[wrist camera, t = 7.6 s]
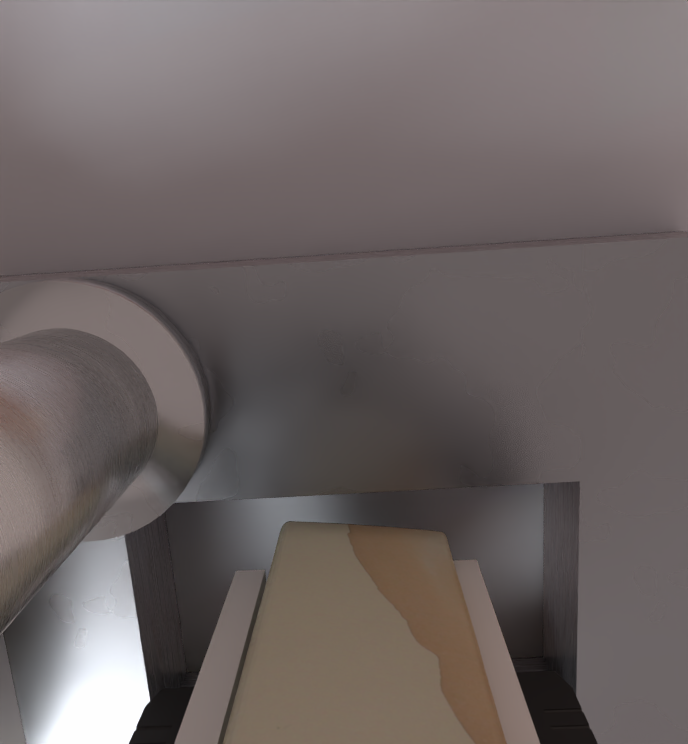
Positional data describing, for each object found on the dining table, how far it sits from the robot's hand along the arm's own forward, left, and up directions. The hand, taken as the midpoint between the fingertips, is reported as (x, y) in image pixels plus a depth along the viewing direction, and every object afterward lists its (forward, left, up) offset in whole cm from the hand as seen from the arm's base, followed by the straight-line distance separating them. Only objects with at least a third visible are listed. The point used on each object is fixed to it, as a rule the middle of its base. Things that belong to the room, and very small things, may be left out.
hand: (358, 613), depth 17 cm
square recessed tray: (0, 0, -3) cm, 3 cm away
